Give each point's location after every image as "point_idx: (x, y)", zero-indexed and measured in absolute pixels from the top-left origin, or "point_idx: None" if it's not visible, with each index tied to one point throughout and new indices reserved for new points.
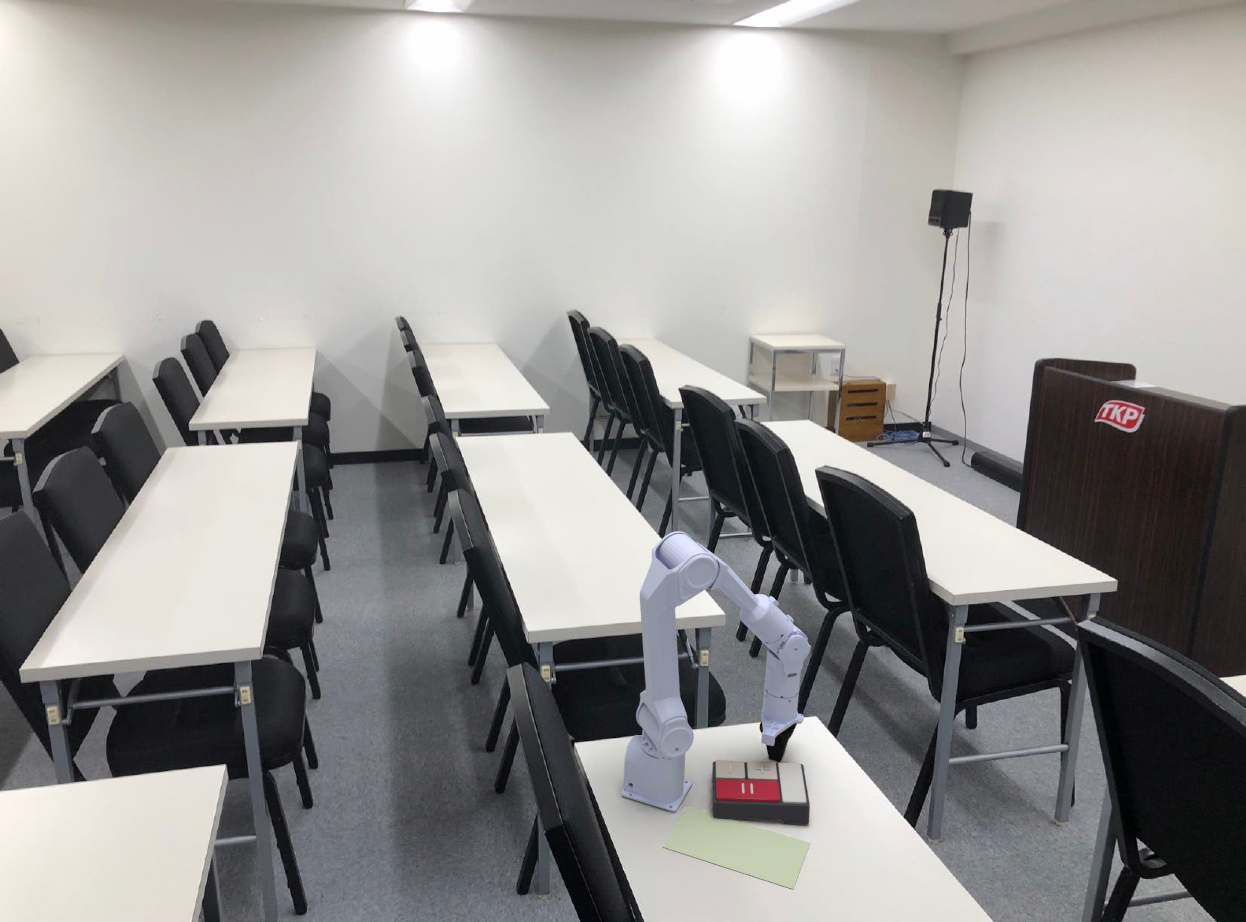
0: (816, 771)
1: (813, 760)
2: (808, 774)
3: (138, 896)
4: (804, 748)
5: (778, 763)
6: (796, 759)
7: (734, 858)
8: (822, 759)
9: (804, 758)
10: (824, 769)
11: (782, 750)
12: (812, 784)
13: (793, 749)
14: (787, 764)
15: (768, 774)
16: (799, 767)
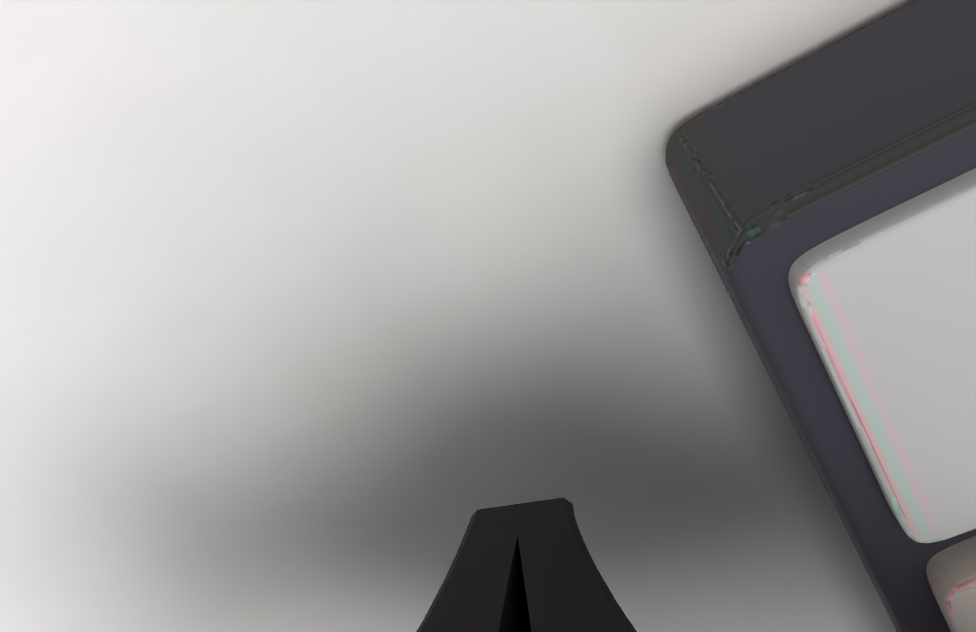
0: (313, 77)
1: (130, 203)
2: (440, 137)
3: None
4: (3, 380)
5: (926, 541)
6: (261, 370)
7: None
8: (23, 117)
9: (176, 306)
10: (198, 2)
11: (626, 623)
12: (610, 4)
13: (117, 464)
14: (922, 435)
15: None
16: (930, 245)
